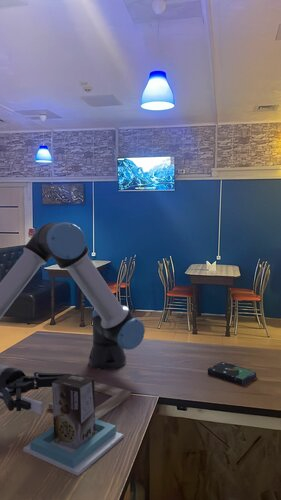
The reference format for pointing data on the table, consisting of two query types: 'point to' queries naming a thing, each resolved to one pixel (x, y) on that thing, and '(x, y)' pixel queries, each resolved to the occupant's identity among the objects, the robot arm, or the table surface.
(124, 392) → the birch frame
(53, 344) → the table surface
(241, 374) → the disk drive
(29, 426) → the table surface
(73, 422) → the coffee box
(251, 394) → the table surface
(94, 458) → the teal white square frame
